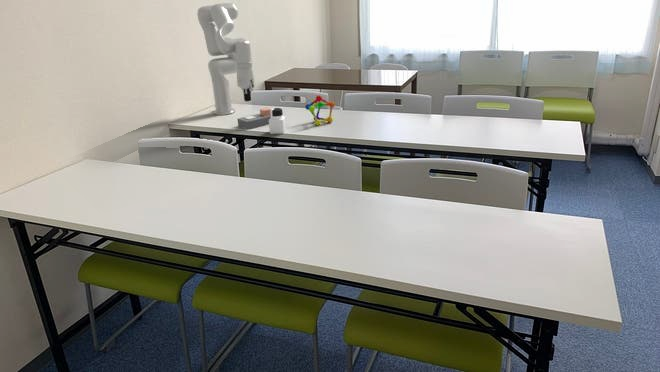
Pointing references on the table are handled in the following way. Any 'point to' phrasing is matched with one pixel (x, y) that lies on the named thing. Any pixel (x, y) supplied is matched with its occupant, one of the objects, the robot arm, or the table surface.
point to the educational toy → (320, 104)
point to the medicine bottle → (277, 121)
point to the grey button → (250, 117)
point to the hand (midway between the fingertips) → (247, 100)
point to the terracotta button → (265, 112)
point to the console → (254, 121)
